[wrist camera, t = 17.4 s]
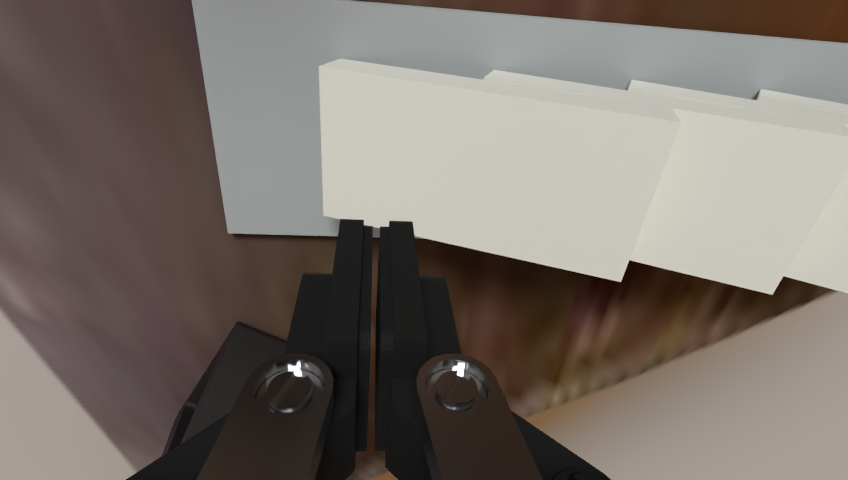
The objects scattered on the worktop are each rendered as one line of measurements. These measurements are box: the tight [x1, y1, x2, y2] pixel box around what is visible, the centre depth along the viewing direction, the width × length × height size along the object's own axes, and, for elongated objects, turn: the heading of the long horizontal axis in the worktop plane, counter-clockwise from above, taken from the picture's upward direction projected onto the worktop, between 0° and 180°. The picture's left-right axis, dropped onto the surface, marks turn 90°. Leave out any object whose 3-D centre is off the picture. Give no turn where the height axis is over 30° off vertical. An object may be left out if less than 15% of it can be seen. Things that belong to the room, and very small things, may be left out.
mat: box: [192, 0, 848, 239], centre depth 21 cm, size 30×10×1 cm, turn 85°
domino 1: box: [319, 58, 681, 282], centre depth 18 cm, size 2×6×12 cm
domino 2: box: [483, 70, 848, 295], centre depth 18 cm, size 2×6×12 cm
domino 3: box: [628, 80, 848, 293], centre depth 18 cm, size 2×6×12 cm
